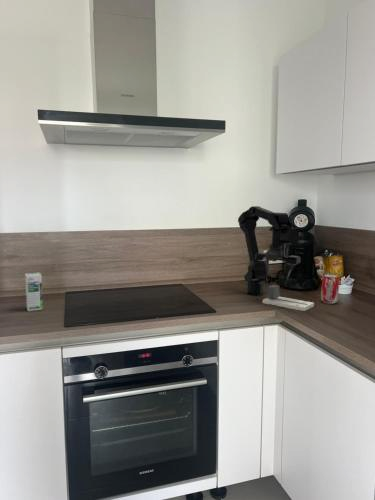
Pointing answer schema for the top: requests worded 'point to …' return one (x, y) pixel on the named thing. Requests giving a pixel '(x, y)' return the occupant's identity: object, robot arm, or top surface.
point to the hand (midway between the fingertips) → (276, 277)
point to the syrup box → (34, 291)
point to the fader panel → (289, 303)
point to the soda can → (330, 289)
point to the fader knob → (273, 291)
